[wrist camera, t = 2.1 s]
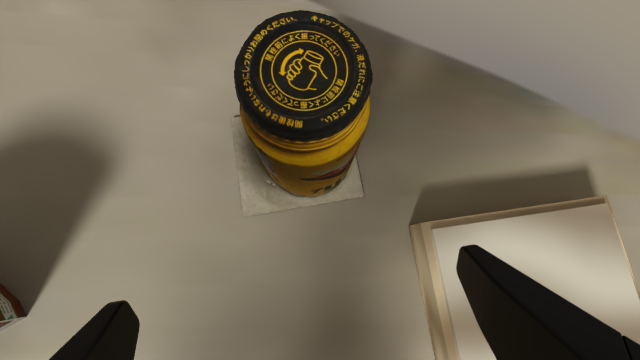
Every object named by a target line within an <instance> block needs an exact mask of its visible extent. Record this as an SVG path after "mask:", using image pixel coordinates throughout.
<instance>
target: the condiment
mask: <svg viewBox="0 0 640 360" xmlns="http://www.w3.org/2000/svg"><path fill="white" fill-rule="evenodd" d="M372 75H373V74H372V70H371V64H370V60H369V57H368V53H367V50H366V49H365V47H364V45H363V44H362V43H361V42H360V40H359V38H358V37H357V35H356V34H355V33H354V32H353V31H352V30H351V29H349V28H348V27H347V26H345V25H344V24H343V23H341V22H339V21H338V20H337V19H336V18H334V17H331V16H327V15H325V14H321V13H315V12H311V11H302V10H299V11H292V12H286V13H280V14H278V15H275V16H273V17H271V18H268V19H266V20H265V21H264V22H262V23H261V24H259V25H258V26H257V27H256V28H255V29H254V31H252V33H251V35H250V36H249V37H248V39H247V40H246V41H245V42H244V44H243V47H241V50H240V53H239V54H238V56H237V58H236V61H235V70H234V79H235V88H236V93H237V97H238V100H239V102H240V117H233V118H231V123H232V129H233V137H234V144H235V152H236V159H237V167H238V174H239V184H240V192H241V199H242V209H243V217H246V216H252V215H257V214H264V213H269V212H275V211H281V210H287V209H293V208H299V207H306V206H312V205H318V204H323V203H329V202H336V201H341V200H347V199H353V198H359V197H364V193H363V188H362V183H361V178H360V173H359V169H358V164H357V159H356V154H355V153H356V151H357V148H358V146H359V143H360V141H361V139H362V137H363V135H364V132H365V129H366V126H367V123H368V119H369V116H370V87H371V84H372V81H373V80H372ZM266 180H268V181H270V182H271V183H270V184H269V183H267V182H266ZM272 183H274V184H275V186H273V185H272Z"/></svg>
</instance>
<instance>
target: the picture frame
mask: <svg viewBox="0 0 640 360" xmlns="http://www.w3.org/2000/svg"><path fill="white" fill-rule="evenodd" d="M409 231H410V236H411V241H412V246H413V251H414V256H415V261H416V265H417V270H418V275H419V280H420V285H421V290H422V295H423V300H424V305H425V310H426V315H427V320H428V325H429V330H430V335H431V340H432V345H433V350H434V355H435V359H436V360H497V359H496V357H495V355H494V354H493V352H492V350H491V348H490V346H489V344H488V343H487V341H486V339H485V337H484V335H483V333H482V331H481V329H480V327H479V325H478V323H477V321H476V318H475V316H474V314H473V311H472V309H471V306H470V304H469V302H468V299H467V297H466V294H465V292H464V290H463V287H462V285H461V282H460V280H459V278H458V275H457V271H456V265H457V260H458V254H459V250H460V248H461V247H462V246H467V245H473V244H474V245H478V246H480V247H481V248H483V249H485V250H486V251H488V252H490V253H491V254H493V255H494V256H496V257H498V258H499V259H501V260H503V261H504V262H506V263H507V264H509V265H511V266H512V267H514V268H516V269H517V270H519V271H521V272H522V273H524V274H525V275H527V276H529V277H530V278H532V279H534V280H535V281H537V282H538V283H540V284H542V285H543V286H545V287H547V288H548V289H550V290H551V291H553V292H555V293H556V294H558V295H560V296H561V297H563V298H564V299H566V300H568V301H569V302H571V303H573V304H574V305H576V306H578V307H579V308H581V309H582V310H584V311H586V312H587V313H589V314H591V315H592V316H594V317H595V318H597V319H599V320H600V321H602V322H604V323H605V324H607V325H608V326H610V327H612V328H613V329H615V330H617V331H618V332H620V333H621V335H622V336H623V335H624V336H627V337H628V338H630V339H632V340H633V341H635V342H636V343H638V344H640V293H639V290H638V287H637V284H636V281H635V278H634V275H633V272H632V269H631V266H630V263H629V260H628V257H627V254H626V251H625V248H624V245H623V242H622V239H621V236H620V233H619V230H618V227H617V224H616V221H615V219H614V216H613V213H612V210H611V207H610V204H609V201H608V198H607V195H605V196H598V197H591V198H584V199H578V200H571V201H564V202H557V203H551V204H544V205H537V206H531V207H524V208H517V209H510V210H504V211H497V212H490V213H483V214H477V215H470V216H463V217H456V218H450V219H443V220H436V221H430V222H423V223H418V224H414V225H411V226H409Z"/></svg>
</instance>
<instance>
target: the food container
mask: <svg viewBox="0 0 640 360" xmlns="http://www.w3.org/2000/svg"><path fill="white" fill-rule="evenodd" d="M25 317H27V316H26V314H25V312H24V310H23V308H22V306H21V304H20V302H19V300H18V299H17V298H16V297H15V296H14V295H13V294H12V293H11V292H10V291H9V290H8V289H7V288H6V287H5V286H3V285H1V284H0V331H2V330H4V329H5V328H7V327H9V326H11V325H12V324H14V323H16V322H18V321H20V320H21V319H23V318H25Z"/></svg>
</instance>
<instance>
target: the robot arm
mask: <svg viewBox="0 0 640 360" xmlns="http://www.w3.org/2000/svg"><path fill="white" fill-rule="evenodd" d="M456 271H457V275H458V278H459V280H460V282H461V285H462V287H463V290H464V292H465V294H466V297H467V299H468V302H469V304H470V306H471V309H472V311H473V314H474V316H475V318H476V321H477V323H478V325H479V327H480V329H481V331H482V333H483V335H484V337H485V339H486V341H487V343H488V344H489V346H490V348H491V350H492V352H493V354H494V355H495V357H496V359H497V360H640V344H638V343H636V342H635V341H633V340H632V339H630V338H628V337H627V336H624V335H623V336H622V335H621V333H620V332H618V331H617V330H615V329H613V328H612V327H610V326H608V325H607V324H605V323H604V322H602V321H600V320H599V319H597V318H595V317H594V316H592V315H591V314H589V313H587V312H586V311H584V310H582V309H581V308H579V307H578V306H576V305H574V304H573V303H571V302H569V301H568V300H566V299H564V298H563V297H561V296H560V295H558V294H556V293H555V292H553V291H551V290H550V289H548V288H547V287H545V286H543V285H542V284H540V283H538V282H537V281H535V280H534V279H532V278H530V277H529V276H527V275H525V274H524V273H522V272H521V271H519V270H517V269H516V268H514V267H512V266H511V265H509V264H507V263H506V262H504V261H503V260H501V259H499V258H498V257H496V256H494V255H493V254H491V253H490V252H488V251H486V250H485V249H483V248H481V247H480V246H478V245H474V244H473V245H467V246H462V247H461V248H460V250H459V254H458V260H457V265H456ZM139 325H140V324H139V319H138V317H137V316H136V314H135V312H134V311H133V309H132V308H131V306H130V305H129V303H128V302H127V301H124V300H122V301H116V302H111V303H108V304H107V305H105V306H104V307H103V308H102V309H101V310H100V311H99V312H98V313H97V314H96V315H95V316H94V317H93V318H92V319H91V320H90V321H89V322H88V323H87V324H85V325H84V326H83V327H82V328H81V329H80V330H79V331H78V332H77V333H76V334H75V335H74V336H73V337H72V338H71V339H70V340H69V341H68V342H67V343H66V344H65V345H64V346H63V347H62V348H60V349H59V350H58V351H57V352H56V353H55V354H54V355H53V356H52V357H51V358H50V359H49V360H134V356H135V350H136V344H137V339H138V333H139Z"/></svg>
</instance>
